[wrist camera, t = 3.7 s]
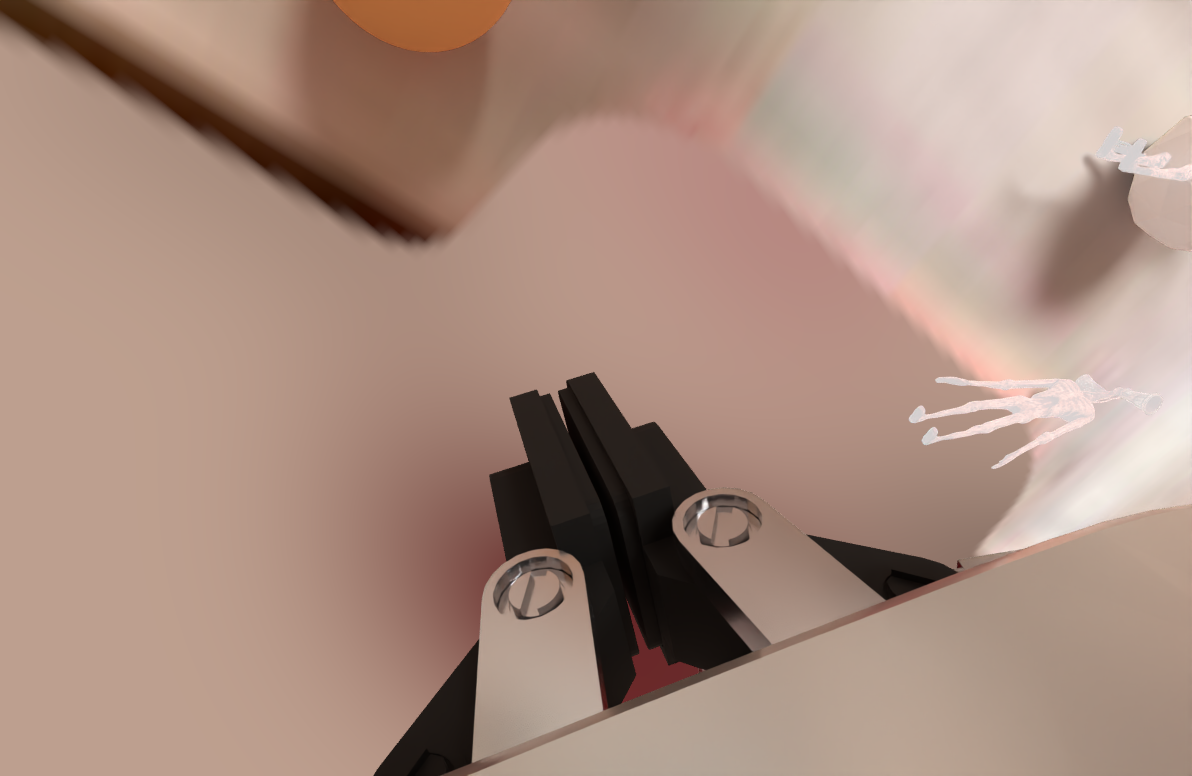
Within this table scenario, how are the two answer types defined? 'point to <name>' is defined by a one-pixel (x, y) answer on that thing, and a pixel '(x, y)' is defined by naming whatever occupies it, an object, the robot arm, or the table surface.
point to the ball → (425, 21)
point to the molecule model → (1165, 212)
